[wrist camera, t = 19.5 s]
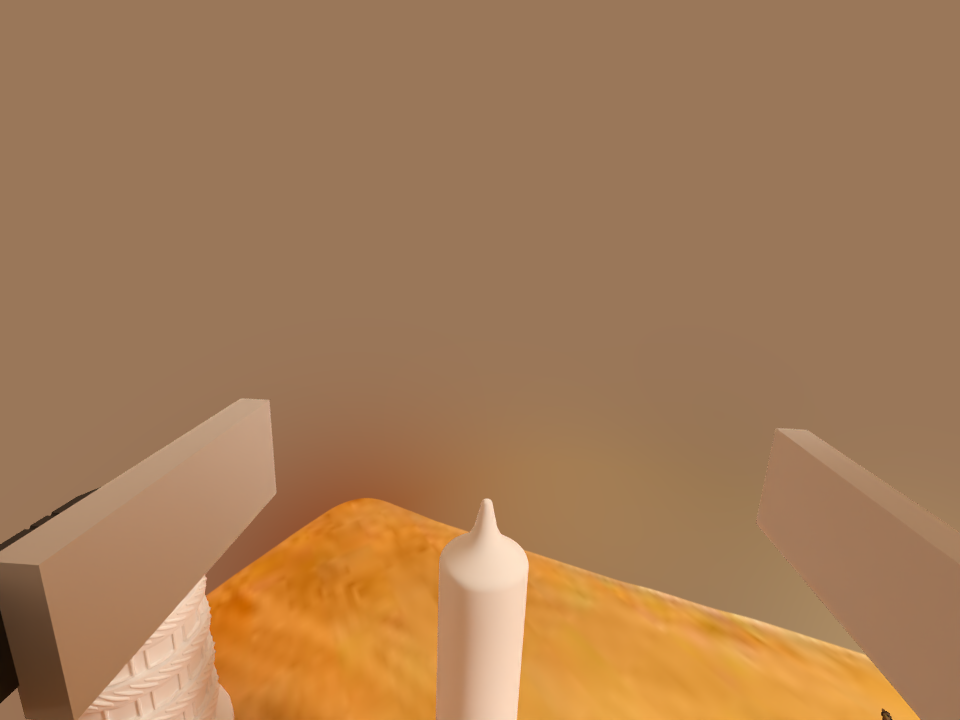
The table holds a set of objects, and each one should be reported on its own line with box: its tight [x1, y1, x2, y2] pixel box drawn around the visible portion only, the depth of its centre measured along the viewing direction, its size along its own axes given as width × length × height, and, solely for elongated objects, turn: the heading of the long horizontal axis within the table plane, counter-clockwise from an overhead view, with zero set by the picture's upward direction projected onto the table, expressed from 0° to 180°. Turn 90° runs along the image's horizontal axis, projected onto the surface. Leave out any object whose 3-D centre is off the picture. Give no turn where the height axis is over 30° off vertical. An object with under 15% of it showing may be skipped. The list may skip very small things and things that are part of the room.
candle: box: [436, 499, 528, 720], centre depth 27 cm, size 7×7×25 cm
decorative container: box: [78, 575, 235, 720], centre depth 34 cm, size 12×12×18 cm
